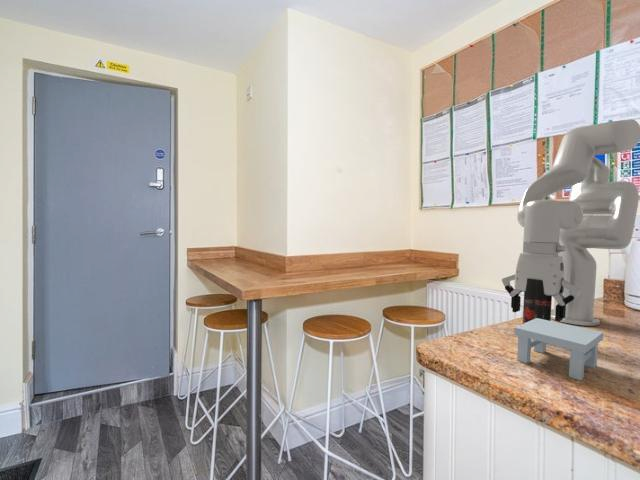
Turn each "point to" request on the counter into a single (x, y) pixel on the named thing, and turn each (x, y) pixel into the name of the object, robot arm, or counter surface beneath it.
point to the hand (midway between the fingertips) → (536, 315)
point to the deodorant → (536, 301)
